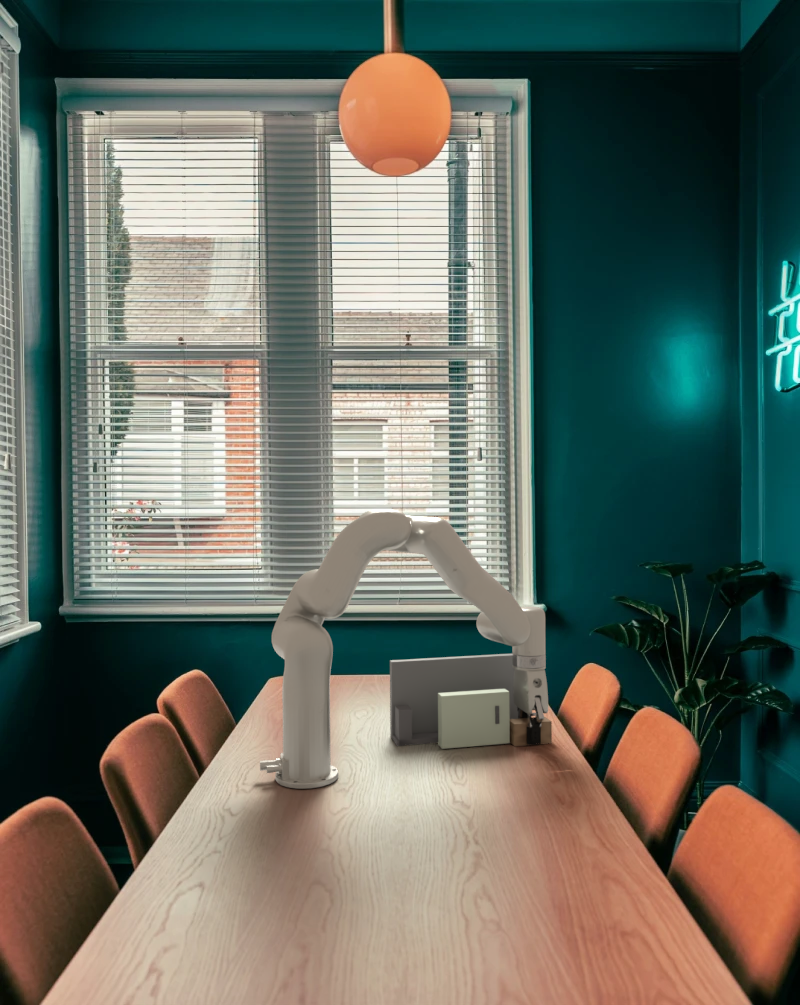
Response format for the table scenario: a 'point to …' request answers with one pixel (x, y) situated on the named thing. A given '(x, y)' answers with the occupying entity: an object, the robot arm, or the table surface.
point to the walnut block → (520, 731)
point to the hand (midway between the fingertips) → (529, 740)
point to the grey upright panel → (440, 690)
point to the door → (473, 718)
